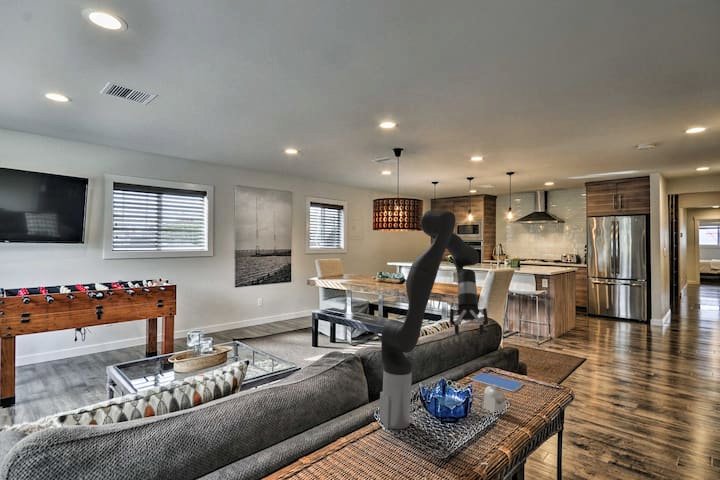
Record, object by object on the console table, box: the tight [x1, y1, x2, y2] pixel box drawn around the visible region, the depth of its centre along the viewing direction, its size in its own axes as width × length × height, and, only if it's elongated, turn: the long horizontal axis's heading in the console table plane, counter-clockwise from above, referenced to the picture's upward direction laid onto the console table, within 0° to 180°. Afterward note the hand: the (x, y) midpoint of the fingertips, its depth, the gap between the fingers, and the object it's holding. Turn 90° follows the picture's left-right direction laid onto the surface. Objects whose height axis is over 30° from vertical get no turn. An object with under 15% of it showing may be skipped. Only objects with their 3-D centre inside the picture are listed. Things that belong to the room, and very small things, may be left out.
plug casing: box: [483, 384, 506, 412], centre depth 136 cm, size 4×6×9 cm
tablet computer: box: [470, 372, 525, 393], centre depth 165 cm, size 19×13×1 cm, turn 48°
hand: (469, 335), depth 145 cm, fingers open, 8 cm apart
